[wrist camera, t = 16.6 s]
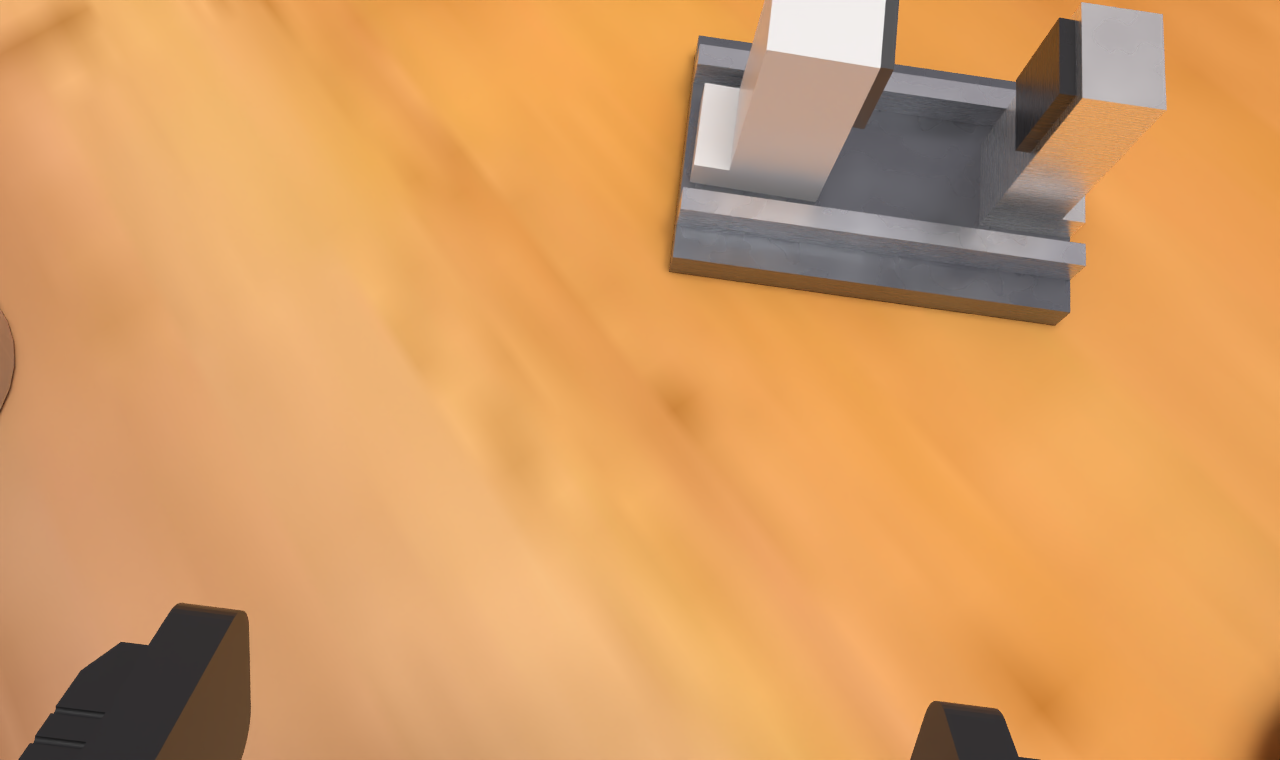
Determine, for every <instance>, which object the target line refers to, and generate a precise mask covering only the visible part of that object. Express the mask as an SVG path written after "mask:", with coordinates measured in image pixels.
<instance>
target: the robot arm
mask: <svg viewBox="0 0 1280 760" xmlns="http://www.w3.org/2000/svg"><path fill="white" fill-rule="evenodd" d="M13 369H14V342H13V339H12V335H11V332H10V328H9V325H8V321H7V320H6V318H5V316H4V315H3V313H2V311H1V310H0V409H1V407H2V405H3V402H4V400H5V398H6V395H7V393H8V391H9V389H10V384H11V379H12V374H13ZM250 714H251V700H250V653H249V622H248V617H247V614H246V613H245V612H244V611H241V610H233V609H225V608H217V607H209V606H201V605H193V604H186V603H179V604H177V605H175V606H174V607H173V608H172V610H171V611H170V613H169V614H168V616H167V617H166V619H165V620H164V622H163V623H162V625H161V627H160V628H159V630H158V631H157V633H156V634H155V636H154V637H153V639H152V641H151V642H150V644H149V645H141V644H133V643H125V642H120V643H119V644H118V645H116V646H115V647H113V648H112V649H111V650H109V651H108V652H106V653H105V654H104V655H102V656H101V657H99V658H98V659H97V660H95V661H94V662H92V663H91V664H89V665H88V666H87V667H85V668H84V669H82V670H81V671H80V673H79V674H78V675H77V677H76V678H75V680H74V681H73V683H72V684H71V685H70V687H69V688H68V690H67V691H66V693H65V694H64V695H63V697H62V698H61V700H60V701H59V703H58V704H57V705H56V710H55V712H54V714H52V713H51V714H50V715H49V717H48V718H47V720H46V721H45V722H44V724H43V725H42V727H41V728H40V730H39V731H38V732H37V734H36V735H35V741H34V743H30V744H29V745H28V747H27V748H26V750H25V751H24V752H23V754H22V755H21V757H20V758H19V760H241V758H242V755H243V752H244V749H245V745H246V741H247V736H248V731H249V724H250ZM910 760H1039V759H1031V758H1023V757H1018V754H1017V751H1016V749H1015V746H1014V743H1013V740H1012V738H1011V735H1010V732H1009V730H1008V727H1007V724H1006V721H1005V719H1004V717H1003V715H1002V713H1001V712H1000V711H999V710H998V709H995V708H988V707H980V706H972V705H964V704H956V703H948V702H940V701H934V702H932V703H931V704H930V705H929V707H928V709H927V711H926V714H925V716H924V719H923V722H922V725H921V729H920V732H919V735H918V738H917V741H916V744H915V747H914V750H913V753H912V756H911V759H910Z"/></svg>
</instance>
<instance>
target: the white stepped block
mask: <svg viewBox="0 0 1280 760" xmlns="http://www.w3.org/2000/svg"><path fill="white" fill-rule="evenodd" d="M898 8H899V0H765V1H764V5H763V8H762V12H761V15H760V19H759V22H758V26H757V29H756V33H755V36H754V40H753V43H752V47H751V50H750V54H749V57H748V61H747V64H746V68H745V71H744V75H743V78H742V82H741V85H740V88H734V87H728V86H722V85H716V84H710V83H705V85H704V90H703V94H702V98H701V103H700V110H699V118H698V125H697V132H696V140H695V147H694V154H693V162H692V169H691V176H690V182H692V183H699V184H705V185H711V186H718V187H724V188H730V189H736V190H743V191H749V192H755V193H762V194H768V195H774V196H781V197H787V198H793V199H799V200H806V201H812V202H816V201H817V199H818V197H819V195H820V193H821V191H822V189H823V186H824V184H825V182H826V180H827V178H828V176H829V174H830V172H831V170H832V168H833V166H834V164H835V162H836V159H837V157H838V155H839V153H840V151H841V149H842V147H843V145H844V143H845V141H846V139H847V137H848V135H849V133H850V130H851V128H852V127H854V128H860V129H864V128H865V126H866V124H867V122H868V120H869V118H870V116H871V114H872V112H873V110H874V108H875V106H876V104H877V102H878V100H879V98H880V96H881V94H882V92H883V90H884V88H885V86H886V84H887V82H888V80H889V78H890V77H891V75H892V73H893V71H894V63H895V49H896V35H897V22H898Z"/></svg>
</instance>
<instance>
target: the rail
mask: <svg viewBox="0 0 1280 760" xmlns="http://www.w3.org/2000/svg"><path fill="white" fill-rule="evenodd" d="M751 47H752V43H747V42H740V41H733V40H726V39H719V38H712V37H706V36H699V38H698V43H697V48H696V53H695V59H694V67H693V76H692V84H691V93H690V101H689V110H688V118H687V126H686V135H685V143H684V152H683V160H682V168H681V177H680V185H679V194H678V202H677V211H676V219H675V227H674V236H673V244H672V253H671V261H670V269H669V272H676V273H683V274H691V275H698V276H705V277H712V278H719V279H726V280H734V281H741V282H748V283H755V284H762V285H769V286H777V287H784V288H791V289H798V290H805V291H813V292H820V293H827V294H834V295H841V296H848V297H856V298H863V299H870V300H877V301H884V302H892V303H899V304H906V305H913V306H920V307H927V308H935V309H942V310H949V311H956V312H963V313H971V314H978V315H985V316H992V317H999V318H1006V319H1014V320H1021V321H1028V322H1035V323H1042V324H1050V325H1056V324H1057V323H1058V322H1060V321H1061V320H1062V319H1063V318H1064V317H1065V316H1067V315H1068V314H1069V313H1070V280H1071V279H1072V278H1073V277H1074V276H1075V275H1076V274H1077V273H1078V272H1080V271H1081V270H1082V269H1083V268H1084V267H1085V266H1086V248H1085V244H1081V243H1074V242H1070V237H1071V236H1072V235H1073V234H1074V233H1075V232H1076V231H1077V230H1078V229H1079V228H1080V227H1081V226H1082V225H1083V224H1084V223H1085V195H1086V194H1087V193H1088V192H1089V191H1090V190H1091V189H1092V187H1093V186H1094V185H1095V184H1096V183H1097V182H1098V181H1099V180H1100V179H1101V178H1102V177H1103V176H1104V175H1105V174H1106V173H1107V172H1108V171H1109V170H1110V169H1111V168H1112V167H1113V165H1114V164H1115V163H1116V162H1117V161H1118V160H1119V159H1120V158H1121V157H1122V156H1123V155H1124V154H1125V153H1126V152H1127V151H1128V150H1129V149H1130V148H1131V147H1132V146H1133V145H1134V144H1135V142H1136V141H1137V140H1138V139H1139V138H1140V137H1141V136H1142V135H1143V134H1144V133H1145V132H1146V131H1147V130H1148V129H1149V128H1150V127H1151V126H1152V125H1153V124H1154V123H1155V122H1156V121H1157V119H1158V118H1159V117H1160V116H1161V115H1162V114H1163V113H1164V112H1165V111H1166V87H1165V61H1164V35H1163V14H1156V13H1150V12H1143V11H1136V10H1130V9H1123V8H1116V7H1110V6H1103V5H1096V4H1090V3H1083V2H1081V4H1080V5H1079V6H1078V8H1077V9H1076V11H1075V12H1074V14H1073V15H1072V16H1071V18H1070V19H1064V18H1059V19H1058V20H1057V22H1056V23H1055V25H1054V26H1053V27H1052V29H1051V30H1050V32H1049V33H1048V35H1047V36H1046V38H1045V39H1044V41H1043V42H1042V43H1041V45H1040V46H1039V48H1038V49H1037V51H1036V52H1035V54H1034V55H1033V56H1032V58H1031V59H1030V61H1029V62H1028V64H1027V65H1026V67H1025V68H1024V69H1023V71H1022V72H1021V74H1020V75H1019V77H1018V78H1017V80H1016V82H1012V81H1005V80H999V79H992V78H985V77H978V76H971V75H965V74H958V73H951V72H944V71H937V70H931V69H924V68H917V67H910V66H903V65H896V64H894V71H893V73H892V75H891V77H890V78H889V80H888V82H887V84H886V86H885V88H884V90H883V92H882V94H881V96H880V98H879V100H878V102H877V104H876V106H875V108H874V110H873V112H872V114H871V116H870V118H869V120H868V122H867V124H866V126H865V128H864V129H860V128H854V127H852V128H851V130H850V133H849V135H848V137H847V139H846V141H845V143H844V145H843V147H842V149H841V151H840V153H839V155H838V157H837V159H836V162H835V164H834V166H833V168H832V170H831V172H830V174H829V176H828V178H827V180H826V182H825V184H824V186H823V189H822V191H821V193H820V195H819V197H818V199H817V201H816V202H812V201H806V200H799V199H793V198H787V197H781V196H774V195H768V194H762V193H755V192H749V191H743V190H736V189H730V188H724V187H718V186H711V185H705V184H699V183H692V182H690V176H691V169H692V162H693V154H694V147H695V140H696V132H697V125H698V118H699V110H700V103H701V98H702V94H703V90H704V85H705V83H710V84H716V85H722V86H728V87H734V88H740V85H741V82H742V78H743V75H744V71H745V68H746V64H747V61H748V57H749V54H750V50H751Z"/></svg>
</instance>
